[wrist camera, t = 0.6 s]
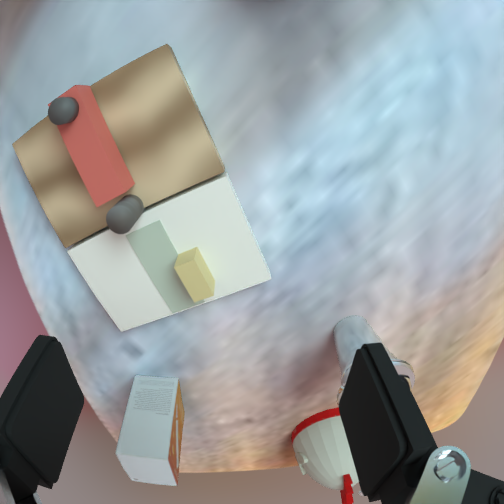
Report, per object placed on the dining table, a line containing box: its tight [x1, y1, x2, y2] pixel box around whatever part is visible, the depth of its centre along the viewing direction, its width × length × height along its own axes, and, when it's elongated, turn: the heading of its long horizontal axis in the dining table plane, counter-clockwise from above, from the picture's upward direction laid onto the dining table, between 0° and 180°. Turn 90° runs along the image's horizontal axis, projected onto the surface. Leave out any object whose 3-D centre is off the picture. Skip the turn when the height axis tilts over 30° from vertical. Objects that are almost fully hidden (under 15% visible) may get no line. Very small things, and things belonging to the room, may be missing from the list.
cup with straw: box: [333, 315, 415, 496], centre depth 29 cm, size 8×9×20 cm
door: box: [67, 172, 271, 332], centre depth 30 cm, size 11×18×4 cm, turn 112°
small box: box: [116, 375, 185, 486], centre depth 36 cm, size 8×6×13 cm
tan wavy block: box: [12, 44, 225, 248], centre depth 25 cm, size 13×18×5 cm
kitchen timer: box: [291, 408, 359, 504], centre depth 42 cm, size 14×14×15 cm
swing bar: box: [48, 85, 135, 207], centre depth 23 cm, size 10×3×4 cm, turn 22°
